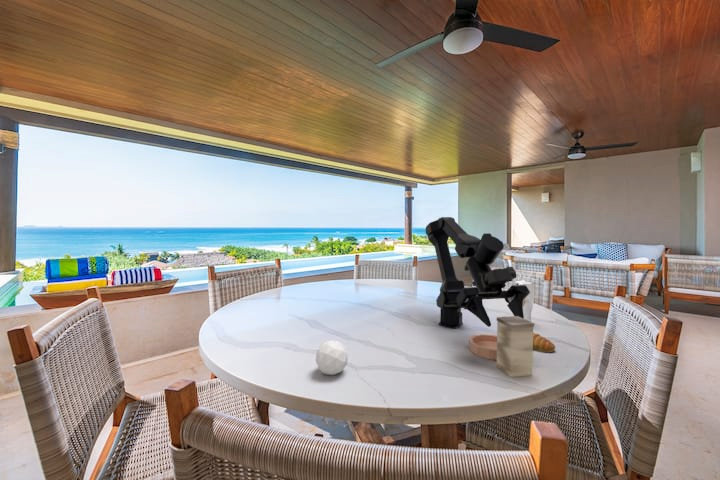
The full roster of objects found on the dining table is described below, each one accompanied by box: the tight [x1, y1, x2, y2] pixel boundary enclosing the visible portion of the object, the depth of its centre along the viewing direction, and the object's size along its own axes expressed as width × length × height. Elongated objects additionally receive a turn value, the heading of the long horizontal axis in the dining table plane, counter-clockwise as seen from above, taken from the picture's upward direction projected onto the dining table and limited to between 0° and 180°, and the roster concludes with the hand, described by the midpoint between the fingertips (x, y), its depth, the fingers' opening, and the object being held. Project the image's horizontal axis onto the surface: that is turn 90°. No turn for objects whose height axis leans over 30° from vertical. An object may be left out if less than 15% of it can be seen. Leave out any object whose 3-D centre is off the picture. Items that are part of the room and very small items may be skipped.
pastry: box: [533, 332, 556, 354], centre depth 88 cm, size 9×7×4 cm
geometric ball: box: [315, 339, 349, 376], centre depth 74 cm, size 8×8×8 cm
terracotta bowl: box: [468, 333, 497, 361], centre depth 85 cm, size 12×12×2 cm
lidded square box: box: [496, 315, 535, 378], centre depth 74 cm, size 6×6×12 cm
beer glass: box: [512, 280, 535, 323], centre depth 106 cm, size 7×7×15 cm
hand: (506, 324), depth 77 cm, fingers open, 9 cm apart
